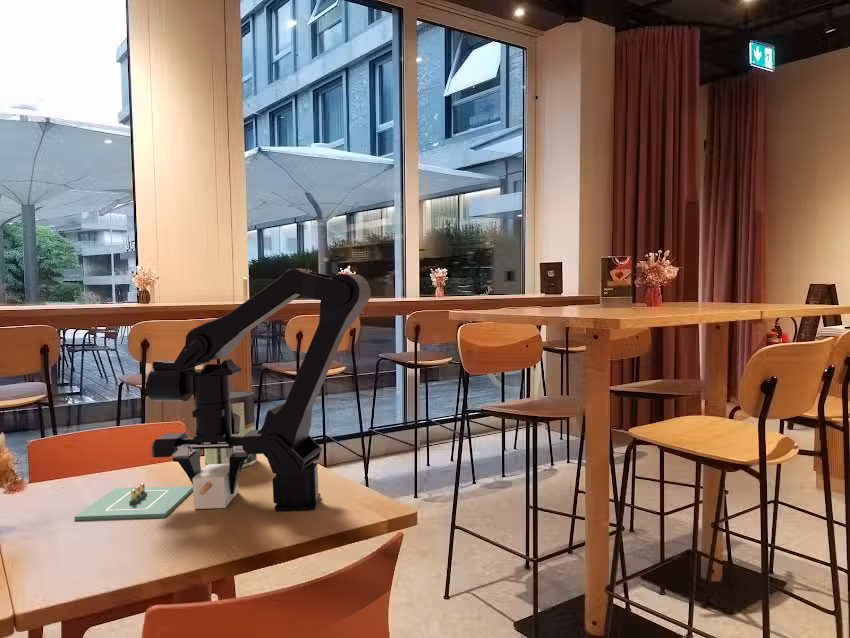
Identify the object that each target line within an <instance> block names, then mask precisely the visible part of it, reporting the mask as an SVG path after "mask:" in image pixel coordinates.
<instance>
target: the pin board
mask: <svg viewBox="0 0 850 638" xmlns="http://www.w3.org/2000/svg"><path fill="white" fill-rule="evenodd" d="M145 485H146V484H145V482H141V483H139V485H138V486H135V487H114V488H113V489H112V490H110V491H109V492H107V493H106V494H105V495H103V496H101V497H100V498H99V499H97V500H95V502H93V503H92V504H90V505H89V506H87V507H86V508H85V509H83V510H81V511H80V512H79V513H77V514H75V516H74V517H73V518H74V521H93V520H95V521H97V520H99V521H100V520H121V519H122V520H124V519H127V520H128V519H148V518H154V519H156V518H167V516H168V515H169V514H170V513H171V512H172V511H174V510H175V508H177V506H179V505H180V504H181V503H182V502H183V501H184V500H185V499H186V498H187V497H188V496H189V495H190V494H191V493H193V485H171V486H169V485H167V486H166V485H165V486H145Z"/></svg>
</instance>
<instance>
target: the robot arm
mask: <svg viewBox="0 0 850 638" xmlns="http://www.w3.org/2000/svg"><path fill="white" fill-rule="evenodd" d="M371 292H372V290H371V287H370V285H369V282H368V281H367V279H366V278H364V276H361V275H360V274H357V273H338V274H335V275H331V274H326V273H319V272H314V271H308V270H307V269H305V268H289V269H287V270H286V271H284V272H283V274H282V275H281V276H280V277H278V278H277V279H275V280H274V281H272V282H271V283H270V284H268V285H266V286H265V287H263V289H260V291H258V292H257V293H256V294H253V296H251V297H250V298H249V299H247V300H245V301H244V302H243V303H241V304H240V305H239V306H237V307H236V308H235V309H233V310H232V311H230V312H229V313H227V314H225V315H221V317H217V318H215V319H212V320H209V321H207V322H205V323H203V324H200V325H197V326H196V327H194V328H191V329H190V330H189V332H187V333H186V336H184V337H185V342H184V346H183V347H182V349H181V351H180V353H179V354H178V356H177V357H176V359H175V360H174V361H173V360H172V361H171V360H166V359H160V360H155V361H153V362H152V369H151V370H150V371H149V373H148V376H147V381H146V382H145V390H146V395H147V396H148V398H149V399H150V400H151V401H152V402H188V401H189V400H190V399H192V396H193V405H194V406H193V408H194V410H192V413H191V414H192V415H191V416H192V418H194V425H195V426H194V427H195V429H194V430H195V435H193V437H188V435H187V433H186V432H185V431H184V432H165V433H163V434H162V435H160V436H158V437H157V438H155V439H154V440H153V442H152V443H151V457H152V458H171V457H172V456H173V457H172V462H175V463H178V464H179V465H180V467H181V468H182V470H183V471H184V472H185V474H186V475H187V477H188V478H189V480H190V482H191V484H192V485H193V477H195V476H196V475H197V474H198V473H199V472H200V471H201V470H202V468H201V467H202V466H201V454H202V450H204V449H218V448H233V450H234V453H233V454H232V455H231V456H230V457H229V475H230V492H231V494H234V493H235V490H236V486H237V483H238V484H239V478H240V476H241V472H242V469H243V468H242V466H243V464H244V462H245V459H248V458H249V457H250V456H251V455H252V454H256V455H263V456H264V457H265V458H266V459H267V461H268V464H269V467H270V469H271V472H272V474H275V475H274V477H273V478H272V498H273V503H274V504H275V505H274V510H275V511H296V510H297V511H298V510H299V511H301V510H314V509H317V506H318V504H319V501H320V499H321V497H322V496H321V493H319V476H318V463H317V462H316V461H319V460H320V457H321V454H322V451H323V448H322V447H321V445H320V444H319V443H317V442H316V441H315V439H314V438H312V437H311V435H310V430H311V426H312V418H313V417H312V414H313V413H312V412H313V407H314V405H315V403H316V400H317V399H318V398H317V397H318V396H319V394H320V391H321V389H322V387H323V384H324V382H325V380H326V377H327V376H328V373H329V370H330V367H331V366H332V363H333V361H334V359H335V357H336V354H337V352H338V349H339V348H340V345H341V343H342V340H343V338H344V336H345V333H346V331H348V329H349V328H350V327H351V325H353V323H354V322H355V321H356V320H357V318H358V317H359V316H360V314H361V313H362V312H363V310H364V308H365V307H366V305H367V304H368V302H369V300H370V298H371ZM299 296H304V297H306V298H310V299H313V300H318V301H319V302H320V303H319V310H318V311H319V315H318V316H319V317H318V325H317V327H316V330H315V333H314V334H313V337H312V338H311V342H310V344H309V347H308V349H307V351H306V352H305V356H304V358H303V360H302V363H301V365H300V368H299V369H298V371H297V374H296V377H295V379H294V381H293V383H292V386H291V388H290V391H289V393H288V395H287V398H286V400H285V401H284V403H282V404H279V405H277V406H276V407H272V408H270V409H268V411H267V412H266V414H265V417H264V422H263V424H262V426H261V428H260V429H255V430H250V431H249V432H248V433H247V434H246V435H245V436H234V437H232V434H239V430H240V416H239V415H237V414H235V413H233V407H232V404H230V391H231V390H230V389H231V387H230V386H231V385H230V376H233V375H237V374H239V373H241V372H242V368H241V367H240V366H238V365H237V364H236V363H235V362H234V361H233V360H232V359H230V358H229V359H228V358H227V359H225V360H223V361H222V362H221V363H211V362H212V361H214V360H220V359H222V358H226V357H227V356H228V355H229V354H231V353H232V352H233V351H234V350H235V349H236V347H238V346H239V345H240V344H241V342H242V340H243V339H244V338H245V336H247V334H248V333H249V332H250V331H252V330H253V329H254V328H256V327H257V326H258V325H260V324H261V323H263V322H264V321H265V320H267V319H268V318H270V317H271V316H273V315H274V314H275V313H277V312H278V311H279V310H281V309H283V308H284V307H285V306H287V305H289V304H290V303H291V302H292V301H294V300H295V299H297V298H298V297H299ZM202 365H204V366H203V367H202V369H196V367H198V366H202ZM218 442H226V443H218ZM204 443H205V444H204ZM206 443H208V444H206ZM209 443H210V444H209Z"/></svg>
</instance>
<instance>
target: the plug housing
mask: <svg viewBox="0 0 850 638" xmlns="http://www.w3.org/2000/svg"><path fill="white" fill-rule="evenodd" d="M192 486H193V491H192V494H193V510H200V509H203V510H204V509H206V510H207V509H227V507H228V506H229V504H230V502H232V501H233V499H234V498H235V497H236V496H237V494H238V493H239V482H238V483H237V486H236V490H235V493H234V494H231V492H230V475H229V464H208V465H207V466H206V467H205V466H204V467H203V468H201V471H200V472H199V473H198V474H197V475H196V476H195V477H193V484H192Z"/></svg>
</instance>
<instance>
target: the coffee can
mask: <svg viewBox="0 0 850 638" xmlns="http://www.w3.org/2000/svg"><path fill="white" fill-rule="evenodd" d="M254 397H255V392H254V391H252V390H247V389H246V390H245V389H242V390H241V389H235V390H233V389H232V390H230V404H232V407H233V413H235V414H237V415H239V416H240V430H239V434H232V437H234V436H245V435H246V434H247V433H248V432H249V431H250V430H256V422H255V421H256V420H255V401H254V400H255V399H254ZM218 443H226V442H218ZM204 444H205V443H204ZM206 444H208V443H206ZM209 444H210V443H209ZM203 450H204V468H205V467H206V466H207V465H208V464H229V457H230V456H231V455H232V454H233V453H234V450H233V448H218V449H203ZM257 455H258V454H252V455H251V456H250V457H249V458H248V459H245V462H244V464H243V466H242V469H243V468H246V467H249V466H252V465H255V464H256V463H257V462H258V457H257Z"/></svg>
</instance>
